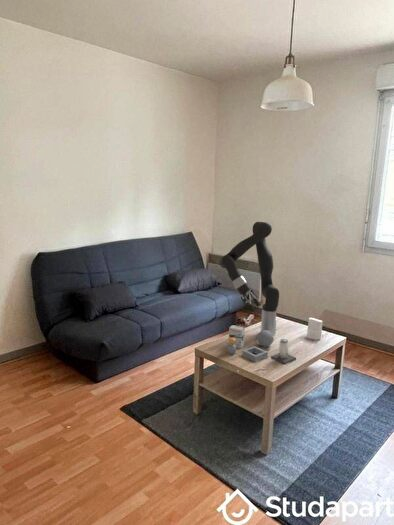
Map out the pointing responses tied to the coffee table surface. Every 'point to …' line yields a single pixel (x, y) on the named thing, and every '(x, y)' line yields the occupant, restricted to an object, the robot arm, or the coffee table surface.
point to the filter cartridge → (283, 348)
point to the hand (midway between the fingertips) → (256, 308)
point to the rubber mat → (285, 361)
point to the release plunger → (232, 340)
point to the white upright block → (314, 328)
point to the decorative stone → (265, 338)
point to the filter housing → (248, 352)
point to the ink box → (237, 335)
